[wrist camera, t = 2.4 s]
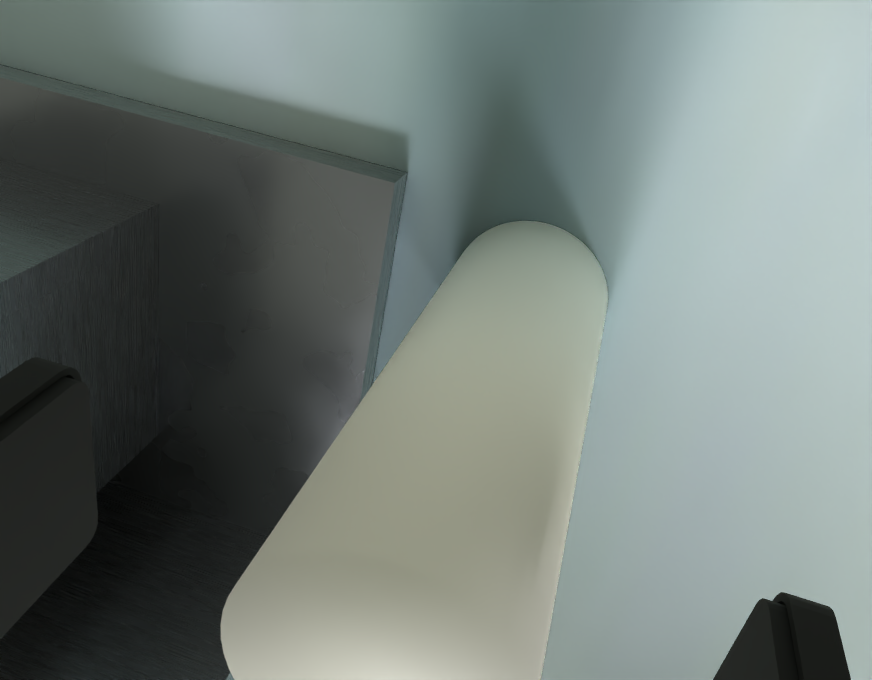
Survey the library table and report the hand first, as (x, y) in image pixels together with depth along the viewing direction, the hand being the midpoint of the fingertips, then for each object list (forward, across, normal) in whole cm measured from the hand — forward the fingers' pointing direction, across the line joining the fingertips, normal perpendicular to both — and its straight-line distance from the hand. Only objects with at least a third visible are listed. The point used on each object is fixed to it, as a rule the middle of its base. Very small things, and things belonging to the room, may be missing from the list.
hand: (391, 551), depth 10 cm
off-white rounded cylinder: (+10, 0, +1) cm, 10 cm away
